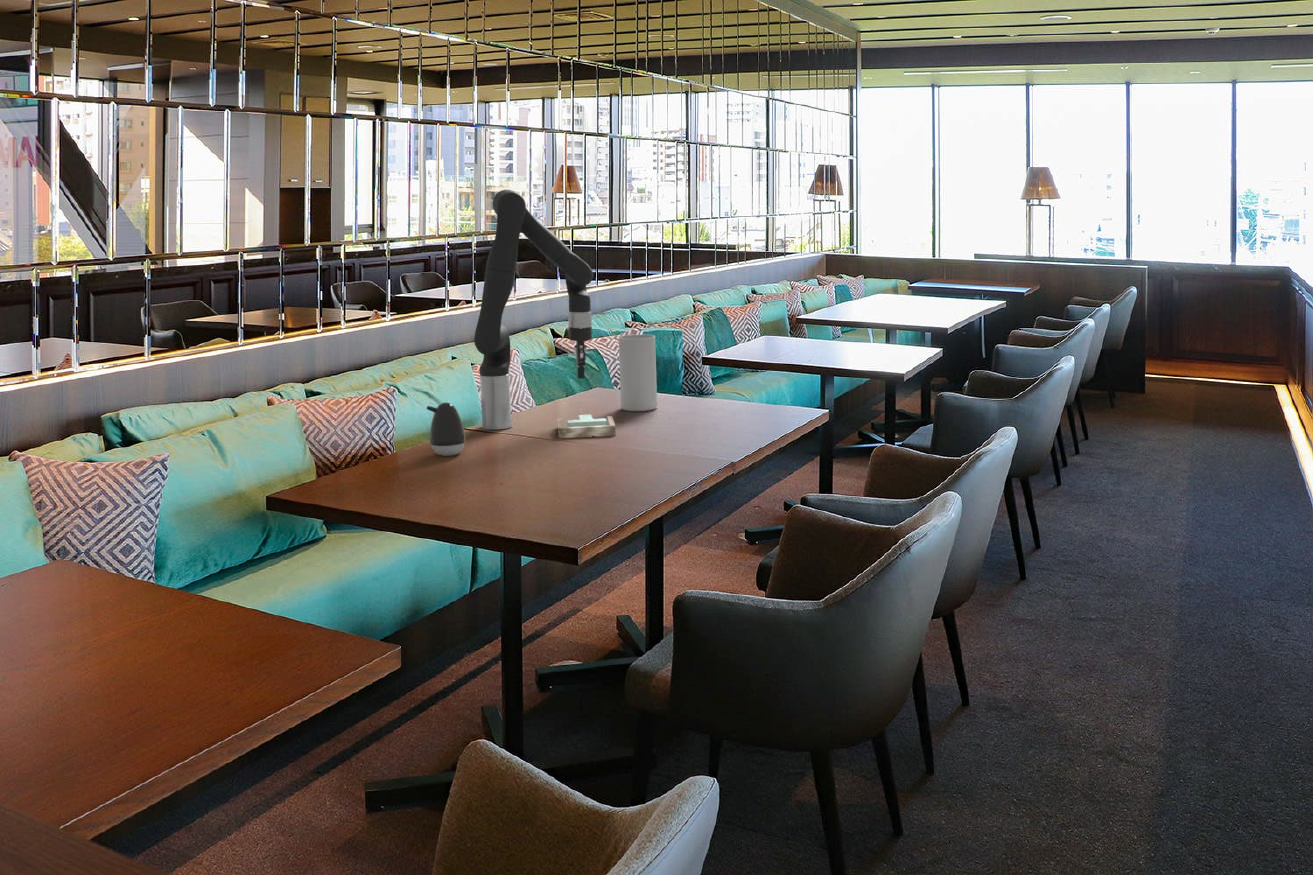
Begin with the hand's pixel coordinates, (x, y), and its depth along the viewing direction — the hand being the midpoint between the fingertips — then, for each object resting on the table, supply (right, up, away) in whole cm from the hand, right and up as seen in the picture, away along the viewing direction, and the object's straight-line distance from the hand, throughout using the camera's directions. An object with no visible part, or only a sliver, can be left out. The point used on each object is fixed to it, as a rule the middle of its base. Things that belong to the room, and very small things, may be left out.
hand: (580, 378), depth 363 cm
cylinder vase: (+19, -10, +22) cm, 30 cm away
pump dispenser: (-36, -24, -42) cm, 60 cm away
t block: (+3, -17, -13) cm, 22 cm away
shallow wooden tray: (+3, -17, -15) cm, 23 cm away
